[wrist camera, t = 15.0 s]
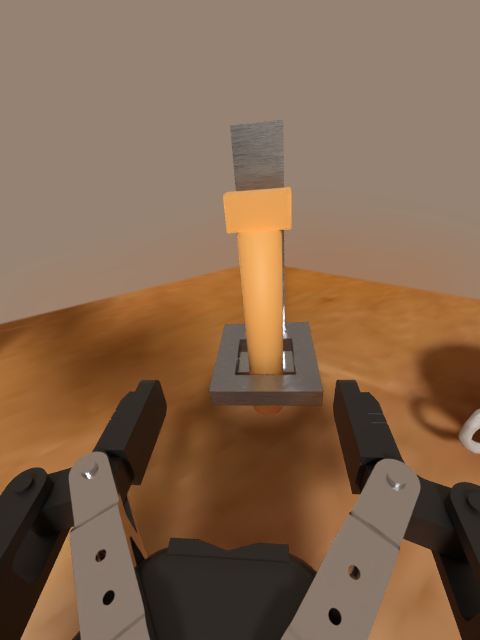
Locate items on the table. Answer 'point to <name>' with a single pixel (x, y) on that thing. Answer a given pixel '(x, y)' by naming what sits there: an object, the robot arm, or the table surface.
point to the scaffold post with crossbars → (298, 351)
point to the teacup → (470, 432)
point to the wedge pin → (261, 273)
